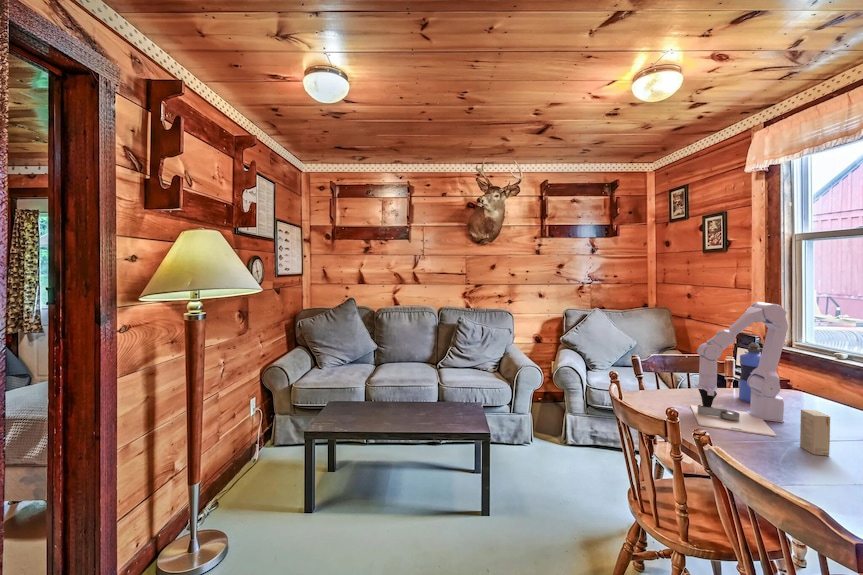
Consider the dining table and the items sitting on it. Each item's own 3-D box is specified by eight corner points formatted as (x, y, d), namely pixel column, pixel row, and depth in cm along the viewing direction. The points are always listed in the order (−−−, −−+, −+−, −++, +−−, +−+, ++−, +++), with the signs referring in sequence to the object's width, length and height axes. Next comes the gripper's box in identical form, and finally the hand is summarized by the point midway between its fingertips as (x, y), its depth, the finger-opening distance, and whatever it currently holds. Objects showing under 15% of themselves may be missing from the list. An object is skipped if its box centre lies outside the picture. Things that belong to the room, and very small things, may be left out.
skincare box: (830, 456, 120) (832, 417, 120) (813, 455, 121) (815, 416, 120) (814, 446, 127) (816, 409, 126) (798, 445, 127) (800, 408, 127)
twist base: (757, 414, 154) (757, 413, 154) (776, 436, 134) (776, 435, 134) (690, 406, 163) (690, 404, 163) (699, 425, 144) (699, 423, 144)
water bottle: (772, 404, 166) (774, 345, 164) (749, 404, 166) (752, 345, 164) (754, 396, 175) (756, 341, 174) (733, 396, 175) (735, 341, 174)
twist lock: (737, 416, 150) (737, 408, 150) (741, 422, 145) (741, 413, 145) (696, 411, 156) (696, 403, 156) (698, 416, 150) (699, 408, 150)
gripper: (693, 368, 162) (692, 401, 163) (698, 377, 149) (697, 412, 150) (713, 370, 159) (712, 403, 160) (721, 380, 146) (720, 415, 147)
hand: (706, 408), depth 155 cm, fingers closed
